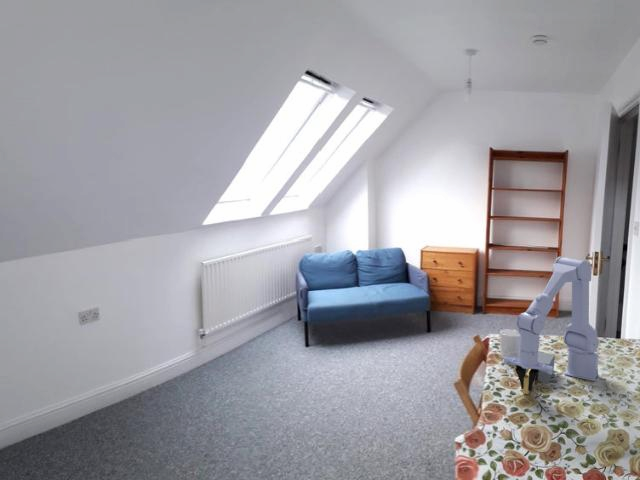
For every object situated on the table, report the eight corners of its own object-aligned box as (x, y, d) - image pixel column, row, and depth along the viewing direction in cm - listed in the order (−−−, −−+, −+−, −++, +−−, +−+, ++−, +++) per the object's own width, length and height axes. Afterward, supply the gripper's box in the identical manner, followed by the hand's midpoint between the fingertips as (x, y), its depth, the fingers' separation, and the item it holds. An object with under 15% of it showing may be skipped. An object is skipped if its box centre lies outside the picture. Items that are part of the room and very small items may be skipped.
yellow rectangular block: (534, 382, 164) (535, 367, 163) (527, 394, 156) (528, 378, 155) (529, 381, 164) (530, 366, 164) (523, 393, 156) (523, 377, 156)
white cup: (522, 362, 181) (524, 336, 180) (500, 360, 183) (501, 335, 181) (518, 353, 189) (519, 329, 187) (497, 352, 190) (498, 328, 189)
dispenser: (553, 372, 172) (554, 354, 170) (547, 384, 163) (548, 365, 162) (526, 367, 177) (527, 349, 176) (519, 377, 168) (520, 359, 167)
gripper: (502, 348, 155) (500, 387, 158) (550, 358, 147) (548, 399, 149) (507, 342, 161) (506, 379, 163) (555, 351, 153) (552, 391, 155)
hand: (526, 388), depth 157 cm, fingers closed on yellow rectangular block
